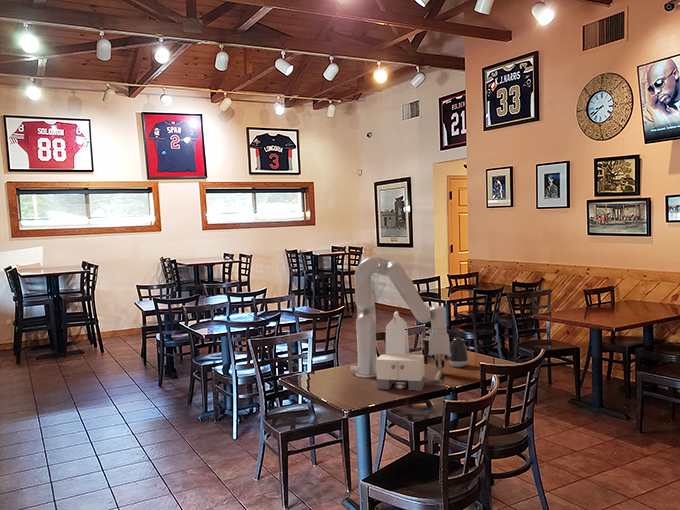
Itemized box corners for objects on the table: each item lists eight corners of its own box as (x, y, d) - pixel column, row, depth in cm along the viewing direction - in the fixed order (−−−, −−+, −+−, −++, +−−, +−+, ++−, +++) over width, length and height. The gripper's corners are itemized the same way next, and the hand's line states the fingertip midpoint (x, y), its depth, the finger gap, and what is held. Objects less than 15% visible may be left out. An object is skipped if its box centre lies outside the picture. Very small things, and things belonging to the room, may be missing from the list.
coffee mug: (428, 354, 312) (427, 337, 312) (441, 355, 306) (440, 338, 306) (417, 357, 303) (417, 340, 303) (431, 359, 297) (430, 341, 297)
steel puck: (394, 389, 242) (394, 384, 242) (396, 386, 247) (396, 382, 247) (404, 389, 241) (404, 385, 241) (406, 386, 246) (406, 382, 245)
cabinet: (376, 389, 242) (375, 360, 242) (382, 381, 255) (381, 353, 254) (420, 391, 236) (419, 361, 236) (424, 383, 249) (423, 355, 248)
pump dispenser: (465, 369, 273) (464, 339, 273) (445, 367, 279) (444, 338, 278) (471, 364, 282) (470, 336, 281) (452, 363, 287) (451, 335, 287)
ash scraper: (428, 385, 246) (427, 363, 245) (434, 372, 268) (434, 353, 268) (441, 386, 244) (441, 364, 243) (447, 373, 266) (446, 353, 266)
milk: (389, 354, 315) (388, 310, 314) (409, 355, 311) (407, 310, 310) (385, 359, 303) (383, 313, 302) (405, 359, 300) (403, 313, 299)
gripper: (422, 332, 263) (423, 369, 264) (454, 332, 259) (455, 370, 259) (424, 329, 271) (425, 365, 271) (455, 330, 266) (456, 366, 266)
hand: (440, 367), depth 265 cm, fingers closed on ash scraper, 1 cm apart
